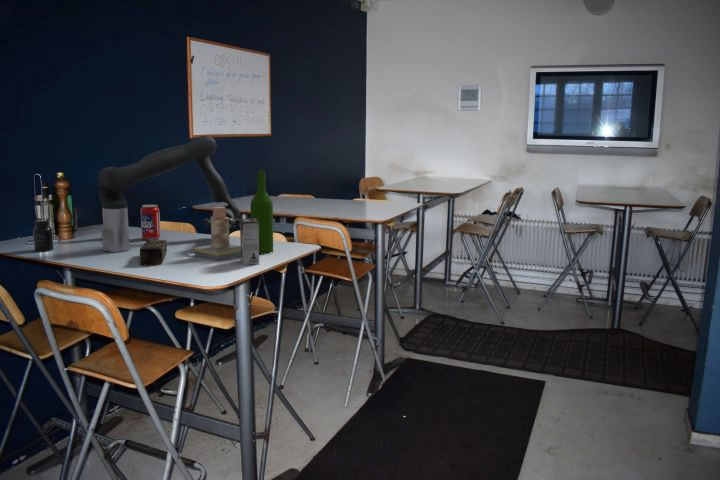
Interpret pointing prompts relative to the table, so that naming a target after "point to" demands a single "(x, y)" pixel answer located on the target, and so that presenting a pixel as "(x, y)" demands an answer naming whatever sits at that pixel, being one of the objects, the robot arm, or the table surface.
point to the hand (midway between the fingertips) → (220, 225)
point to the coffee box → (249, 240)
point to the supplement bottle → (43, 236)
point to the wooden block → (220, 233)
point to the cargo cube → (219, 212)
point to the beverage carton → (153, 252)
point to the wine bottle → (263, 215)
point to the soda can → (150, 222)
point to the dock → (218, 252)
